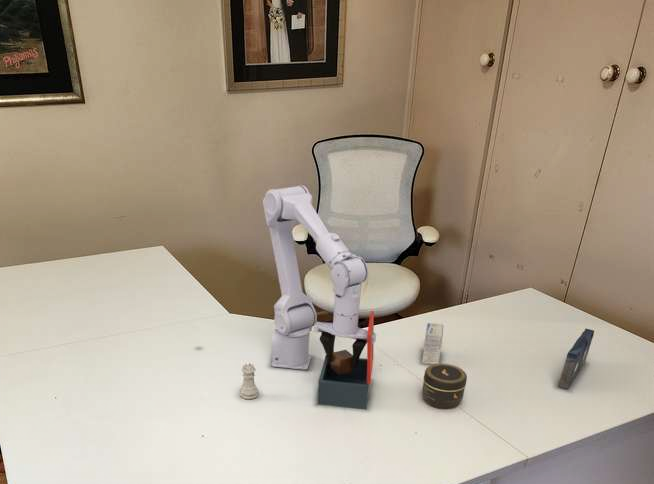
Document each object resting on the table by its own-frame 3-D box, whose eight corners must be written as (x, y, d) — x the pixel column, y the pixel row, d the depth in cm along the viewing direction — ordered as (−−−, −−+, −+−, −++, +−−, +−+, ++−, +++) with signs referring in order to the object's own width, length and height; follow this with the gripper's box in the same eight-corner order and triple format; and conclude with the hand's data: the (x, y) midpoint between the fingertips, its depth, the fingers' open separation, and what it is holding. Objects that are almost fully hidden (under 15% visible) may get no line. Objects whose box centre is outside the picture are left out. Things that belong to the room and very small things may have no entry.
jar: (437, 415, 145) (442, 386, 141) (412, 394, 152) (416, 367, 148) (470, 405, 149) (476, 378, 145) (444, 386, 156) (449, 359, 152)
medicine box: (438, 365, 166) (443, 336, 161) (421, 363, 166) (425, 334, 162) (439, 352, 172) (443, 323, 168) (423, 350, 173) (427, 322, 168)
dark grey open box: (317, 404, 147) (318, 381, 144) (324, 376, 158) (325, 354, 155) (366, 409, 146) (368, 386, 142) (369, 381, 157) (371, 359, 154)
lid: (367, 335, 136) (370, 335, 136) (370, 311, 147) (373, 311, 147) (367, 384, 142) (370, 384, 142) (370, 357, 154) (373, 357, 154)
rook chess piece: (261, 392, 150) (261, 363, 146) (253, 401, 147) (253, 372, 142) (244, 389, 152) (243, 360, 147) (236, 398, 148) (235, 368, 144)
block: (339, 374, 146) (340, 359, 144) (330, 367, 149) (331, 352, 147) (353, 371, 148) (354, 356, 146) (344, 364, 151) (345, 349, 149)
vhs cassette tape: (575, 360, 171) (585, 327, 166) (586, 363, 170) (597, 330, 164) (555, 386, 158) (565, 351, 153) (567, 390, 157) (578, 355, 152)
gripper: (382, 310, 142) (376, 363, 149) (322, 299, 146) (320, 351, 153) (373, 322, 136) (367, 376, 143) (311, 310, 140) (309, 363, 148)
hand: (342, 364), depth 148 cm, fingers closed on block, 5 cm apart
